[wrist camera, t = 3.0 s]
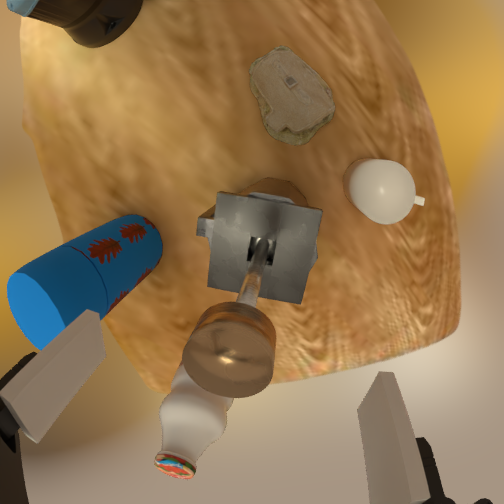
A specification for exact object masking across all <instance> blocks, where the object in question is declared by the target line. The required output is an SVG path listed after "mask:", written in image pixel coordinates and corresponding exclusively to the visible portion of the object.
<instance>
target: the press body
mask: <svg viewBox="0 0 504 504" xmlns="http://www.w3.org/2000/svg"><path fill="white" fill-rule="evenodd" d="M322 212H323V211H322V209H319V208H314V207H309V206H308V204H307V201H306V199H305V197H304V196H303V195H302V194H301V193H300V192H299V191H298V190H297V189H296V188H295V187H294V186H293V184H292V183H291V182H290V181H284V180H279V179H273V178H265V179H263V180H261V181H259V182H257V183H255V184H253V185H251V186H249V187H247V188H246V189H244V190H243V191H242V192H241V193H239V194H235V193H229V192H222V191H220V192H218V193H217V200H216V205H214V206H213V207H212V208H210V209H209V210H207V211H206V212H205V213H203V214H202V215H201V216H199V217H198V222H197V233H196V235H197V236H202V237H208V241H209V246H210V250H211V254H210V264H209V274H208V285H207V287H211V288H216V289H221V290H226V291H231V292H236V293H239V292H240V289H241V286H242V284H243V281H244V278H245V275H246V273H247V270H248V267H249V264H250V262H251V259H252V258H248V254H249V247H250V241H251V237H257V238H262V239H268V240H273V241H277V243H276V248H275V254H274V259H273V262H270V261H266V264H265V268H264V272H263V277H262V281H261V285H260V290H259V294H258V297H262V298H267V299H273V300H278V301H284V302H289V303H295V304H301V302H302V298H303V294H304V290H305V286H306V282H307V278H308V274H309V271H310V270H311V268H312V267H313V265H314V263H315V262H316V260H317V258H318V255H317V245H316V240H317V235H318V231H319V226H320V221H321V217H322Z"/></svg>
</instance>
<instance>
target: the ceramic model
mask: <svg viewBox="0 0 504 504" xmlns="http://www.w3.org/2000/svg"><path fill="white" fill-rule="evenodd" d="M249 74H250V75H251V77H250V88H251V91H252V93H253V94H254V96H255V97H256V98H257V100H258V103H259V107H260V110H261V114H262V117H263V123H264V125H265V127H266V129H267V131H268V133H269V134H270V135H271V136H272V137H273V138H275V139H276V140H280V141H283V142H286V143H288V144H291V145H303V144H306V143H308V142H309V140H310V139H311V137H313V135H314V134H315V133H316V131H317V130H318V129H319V128H320V127H322V126H323V125H325V124H327V123H328V122H329V121H331V119H332V117H333V115H334V111H335V104H334V102H333V97H332V91H331V89H330V88H329V86H328V85H327V83H326V82H325V81H324V80H323V79H322V78H321V77H320V76H319V75H318V73H317V72H316V71H315V70H313V69H312V68H311V67H310V66H309V65H307V64H306V63H305V62H304V61H303V60H302V59H301V58H300V57H298V56H297V55H295V54H294V53H293V51H292V50H290V49H289V48H288V47H285V46H279V47H275V48H274V49H273V51H271V52H269V53H268V54H267V55H264V56H263V57H261V58H258V59H256V60H255V62H253V63H252V64H251V67H250V69H249Z"/></svg>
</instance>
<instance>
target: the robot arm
mask: <svg viewBox="0 0 504 504" xmlns="http://www.w3.org/2000/svg"><path fill="white" fill-rule="evenodd" d="M141 5H142V0H7V6H8V9H9V10H10V11H12V12H15V13H17V14H20V15H22V16H23V17H30V18H33V19H37V20H40V21H43V22H46V23H49V24H52V25H55V26H59V27H61V28H63V29H64V30H65V31H66V32H67V33H68V34H69V35H70V36H71V37H72V39H73V40H74V41H75V42H76V43H78V44H80V45H82V46H85V47H88V48H96V47H100V46H103V45H105V44H108V43H109V42H111V41H113V40H114V39H116V38H117V37H118V36H120V35H121V34H122V33H123V32H124V31H125V30H126V29H127V28H128V27H129V26H130V25H131V24H132V22H133V21H134V19H135V18H136V16H137V15H138V13H139V11H140V8H141ZM105 357H106V352H105V346H104V341H103V335H102V329H101V324H100V317H99V313H97V312H94V311H91V310H88V309H87V310H85V311H84V312H83V313H82V314H81V315H80V316H79V317H77V318H76V319H75V320H74V321H73V322H72V323H71V324H70V325H68V326H67V327H66V328H65V329H64V330H63V331H62V332H61V333H60V334H58V335H57V336H56V337H55V338H54V339H53V340H52V341H51V342H50V343H49V344H48V345H47V346H45V347H44V348H43V349H42V350H41V351H40V352H39V353H38V354H37V353H35V352H32V353H30V354H28V355H26V356H24V357H23V358H22V359H21V360H20V361H19V362H18V364H16V365H15V366H14V367H13V368H12V370H10V371H9V372H8V373H6V374H5V375H4V377H2V378H1V380H0V504H29V502H28V497H27V492H26V487H25V481H24V475H23V468H22V461H21V452H20V440H19V433H18V429H19V428H21V429H22V431H23V432H24V433H25V435H26V436H28V437H29V438H30V439H32V440H33V441H34V442H36V443H37V444H38V443H39V441H40V440H41V439H42V437H43V436H44V435H45V433H46V432H47V431H48V429H49V428H50V427H51V425H52V424H53V423H54V421H55V420H56V419H57V417H58V416H59V415H60V414H61V412H62V411H63V410H64V408H65V407H66V406H67V404H68V403H69V402H70V400H71V399H72V398H73V397H74V395H75V394H76V393H77V392H78V390H79V389H80V388H81V387H82V385H83V384H84V383H85V382H86V380H87V379H88V378H89V377H90V375H91V374H92V373H93V372H94V371H95V369H96V368H97V367H98V366H99V364H100V363H101V362H102V361H103V360H104V358H105ZM357 412H358V418H359V424H360V430H361V436H362V442H363V449H364V457H365V464H366V472H367V480H368V490H369V499H370V504H455V502H454V501H453V500H452V499H450V498H447V497H445V495H444V492H443V488H442V484H441V480H440V476H439V473H438V469H437V466H436V462H435V459H434V458H433V452H432V449H431V446H430V445H429V443H428V442H427V441H426V439H425V438H424V437H422V438H415V435H414V432H413V429H412V426H411V422H410V419H409V416H408V413H407V410H406V407H405V404H404V401H403V398H402V395H401V392H400V390H399V387H398V384H397V381H396V378H395V375H394V373H393V372H379V373H378V375H377V377H376V378H375V380H374V382H373V384H372V385H371V387H370V389H369V391H368V393H367V394H366V396H365V398H364V399H363V401H362V403H361V404H360V406H359V408H358V409H357ZM474 504H493V503H492V502H491V501H490V500H489V499H486V498H484V499H480V500H478V501H477V502H475V503H474Z"/></svg>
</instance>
